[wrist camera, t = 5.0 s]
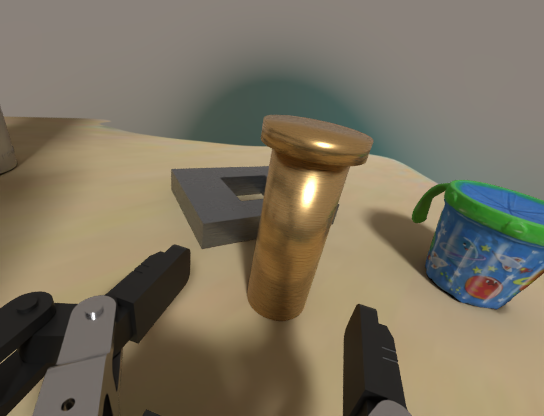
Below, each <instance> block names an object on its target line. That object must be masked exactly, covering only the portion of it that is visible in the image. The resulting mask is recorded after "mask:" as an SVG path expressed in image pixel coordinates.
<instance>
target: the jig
mask: <svg viewBox="0 0 544 416" xmlns="http://www.w3.org/2000/svg"><path fill="white" fill-rule="evenodd" d="M268 170H269V166H262V167H227V168H192V169H171V189H172V191H173V193H174V195H175V197H176V199H177V201H178V203H179V205H180V207H181V209H182V211H183V213H184V215H185V217H186V219H187V221H188V223H189V225H190V227H191V229H192V231H193V233H194V235H195V237H196V239H197V240H198V242H199V244H200V246H201V248H202V249H205V248H210V247H215V246H220V245H226V244H231V243H236V242H241V241H246V240H252V239H257V234H258V228H259V222H260V216H261V211H262V205H263V199H258V200H249V201H240V200H239V198H238V197H237V195H249V194H260V193H262V194H263V195H264V193H265V187H266V182H267V176H268ZM338 207H339V204H338V205H337V208H336V211H335V214H334V217H333V220H332V223H331V224H333V222H334V219H335V216H336V213H337V210H338Z"/></svg>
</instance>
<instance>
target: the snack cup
mask: <svg viewBox="0 0 544 416" xmlns="http://www.w3.org/2000/svg"><path fill="white" fill-rule="evenodd" d="M445 190H446V191H445ZM444 191H445V195H444V198H445V199H444V201H445V206H444V209H443V211H442V213H441V216H440V219H439V221H438V224H437V228H436V231H435V233H434V237H433V240H432V243H431V246H430V250H429V252H428V255H427V259H426V265H425V267H426V269H427V271H426V273H427V275H428V277H429V278H431V279H432V280H433V281H434V283H436V284H437V286H439V287H440V288H441V289H443V290H444V291H446V292H448V293H450V294H451V295H453V296H454V297H455V298H456V299H458V300H459V301H460V302H462V303H468V304H471V305H474V306H478V307H484V308H494V309H498V308H499V307H502V306H504V305H505V304H506V303H507V302H509V301H511V299H512V298H513V297H514V296H515V295H517V294H518V293H519V292H521V291H522V290H524V289H525V288H526V287H528V286H529V285H530V284H531V283H532V282H534V281H535V280H536V279H537V278H538V277H540V276H541V275H542V274H543V273H544V201H543V200H540V199H537V198H534V197H531V196H529V195H525V194H522V193H519V192H516V191H513V190H509V189H506V188H502V187H499V186H495V185H491V184H486V183H481V182H476V181H469V180H455V181H452V182H450V183H445V184H438V185H436V186H434V187H432V188H431V189H429V190H428V191H427V192H426V193H425V194H424V195H423V197H422V198H421V199H420V201H419V202H418V203H417V205H416V207H415V209H414V211H413V214H412V220H413V222H415V223H421V222H424V221H425V220H426V219H427V214H428V211H429V208H430V205H431V202H432V199H433V198H434V197H435V196H437V195H439V194H440V193H442V192H444Z"/></svg>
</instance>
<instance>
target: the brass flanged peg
mask: <svg viewBox="0 0 544 416" xmlns="http://www.w3.org/2000/svg"><path fill="white" fill-rule="evenodd" d="M261 140H262V142H263V143H264V144H266V145H267V146H268V147H270V148H272V153H271V159H270V164H269V170H268V176H267V182H266V187H265V193H264V199H263V205H262V211H261V216H260V222H259V228H258V234H257V239H256V245H255V251H254V257H253V262H252V268H251V274H250V280H249V285H248V291H247V297H248V301H249V303H250V305H251V306H252V308H253V309H254V310H255V311H256V312H257V313H259V314H260V315H262V316H263V317H265V318H268V319H271V320H276V321H286V320H290V319H293V318H295V317H297V316H298V315H299V314H300V313H301V312H302V311H303V309H304V306H305V303H306V300H307V297H308V294H309V291H310V288H311V285H312V281H313V278H314V275H315V272H316V269H317V266H318V263H319V260H320V257H321V254H322V251H323V248H324V245H325V242H326V239H327V235H328V232H329V229H330V226H331V223H332V220H333V217H334V214H335V211H336V208H337V205H338V202H339V199H340V196H341V193H342V189H343V186H344V183H345V180H346V177H347V174H348V171H349V168H350V166H358V165H362V164H364V163H366V161H367V158H368V155H369V152H370V149H371V146H372V144H373V139H372V138H371V137H369V136H368V135H366V134H364V133H361V132H359V131H356V130H353V129H350V128H347V127H343V126H340V125H337V124H333V123H329V122H324V121H320V120H315V119H309V118H304V117H297V116H288V115H268V116H265V117H264V120H263V127H262V134H261Z"/></svg>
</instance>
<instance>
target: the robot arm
mask: <svg viewBox="0 0 544 416" xmlns="http://www.w3.org/2000/svg"><path fill="white" fill-rule="evenodd" d="M16 165H17V160H16V157H15V153H14V148H13V146H12V143H11V140H10V137H9V133H8V130H7V126H6V123H5V120H4V116H3V113H2V110H1V106H0V173H4V172H6V171H9V170H11V169H13V168H14V167H15V166H16ZM189 275H190V249H188V248H185V247H181V246H178V245H172V246H171V247H170V248H169V249H168V250H167V251H166V252H165V253H164V252H161V251H160V252H158V253H156V254H154V255H151V256H149V257H148V258H147V259H146V260H145V261H144V262H142V263H141V265H139V266H138V267H137V268H135V269H134V271H132V272H131V273H130V274H129V275H127V276H126V277H125V278H124V279H123V280H122V281H121V282H119V283H118V284H117V285H116V286H115V287H114V288H113V289H111V290H110V291H109V292H108V293H107V294H106V295H100V296H93V297H90V298H88V299H85V300H84V301H82V302H80V303H79V304H65V303H54V301H53V298H52V296H51V295H50V294H49V293H46V292H31V293H27V294H24V295H21V296H19V297H17V298H15V299H13V300H12V301H10V302H9V303H7V304H6V305H4V306H3V307H2V308H0V363H1V362H2V361H3V360H4V359H5V358H6V357H8V356H9V355H10V354H11V353H12V352H13V351H15V350H16V349H17V350H16V351H15V352H14V353H13V354H12V355H10V356H9V357H8V358H7V359H6V360H5V361H3V362H2V363H1V364H0V416H6V415H7V414H8V413H9V412H10V411H11V410H12V409H13V408H14V407H15V406H16V405H17V404H18V403H19V402H20V401H21V400H22V399H23V398H24V397H25V396H26V395H27V394H28V393H29V392H30V391H31V390H32V388H33V387H34V386H35V385H36V384H37V383H38V382H39V381H40V380H41V379H42V378H43V377H44V376H45V377H44V380H43V384H42V387H41V390H40V393H39V396H38V400H37V403H36V406H35V409H34V412H33V416H120V407H119V394H120V382H121V370H122V358H123V347H124V346H125V344H126V343H127V342H128V341H129V340H130V341H133V342H135V343H139V342H140V341H141V340H142V338H143V337H144V336H145V335H146V333H147V332H148V331H149V330H150V328H151V327H152V326H153V325H154V323H155V322H156V321H157V320H158V318H159V317H160V316H161V315H162V313H163V312H164V311H165V310H166V308H167V307H168V306H169V305H170V303H171V302H172V301H173V300H174V298H175V297H176V296H177V295H178V294H179V292H180V291H181V290H182V289H183V287H184V286H185V285H186V283H187V281H188V279H189ZM397 362H398V360H397V354H396V349H395V343H394V338H393V337H392V335H391V333H390V331H389V330H388V328H387V326H385V325H382V324H379V323H378V316H377V311H376V309H373V308H370V307H367V306H364V305H361V304H357V305H356V307H355V310H354V312H353V314H352V316H351V318H350V320H349V322H348V325H347V327H346V330H345V335H344V365H343V416H412V415H411V414H410V413H409V412H408V410H407V407H406V403H405V397H404V392H403V387H402V381H401V376H400V370H399V365H398V363H397ZM143 416H160V415H158V414H156V413H153V412H151V411H149V410H147V409H146V411H145V412H144V414H143Z"/></svg>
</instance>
